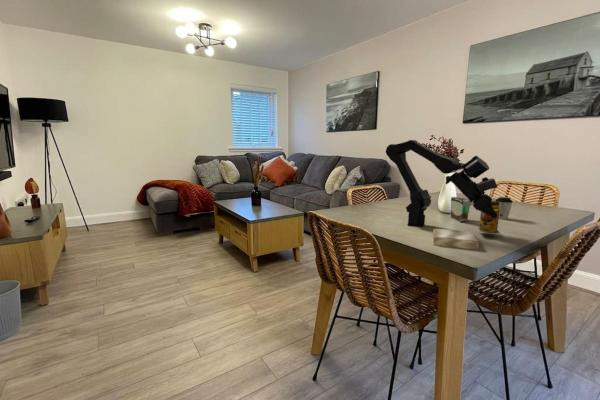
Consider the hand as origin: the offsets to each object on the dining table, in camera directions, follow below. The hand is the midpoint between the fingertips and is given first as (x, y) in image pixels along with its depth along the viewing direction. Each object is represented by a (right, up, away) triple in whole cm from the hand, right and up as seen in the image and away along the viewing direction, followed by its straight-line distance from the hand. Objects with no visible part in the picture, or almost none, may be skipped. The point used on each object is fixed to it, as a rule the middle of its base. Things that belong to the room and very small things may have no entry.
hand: (494, 214), depth 114 cm
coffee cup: (+22, -3, +29) cm, 36 cm away
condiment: (-1, -7, +3) cm, 7 cm away
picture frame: (-18, -10, -5) cm, 21 cm away
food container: (+2, -4, +27) cm, 27 cm away
